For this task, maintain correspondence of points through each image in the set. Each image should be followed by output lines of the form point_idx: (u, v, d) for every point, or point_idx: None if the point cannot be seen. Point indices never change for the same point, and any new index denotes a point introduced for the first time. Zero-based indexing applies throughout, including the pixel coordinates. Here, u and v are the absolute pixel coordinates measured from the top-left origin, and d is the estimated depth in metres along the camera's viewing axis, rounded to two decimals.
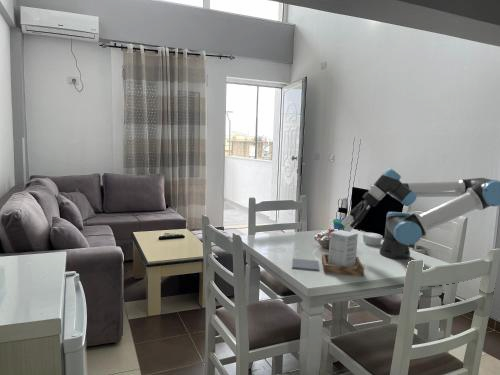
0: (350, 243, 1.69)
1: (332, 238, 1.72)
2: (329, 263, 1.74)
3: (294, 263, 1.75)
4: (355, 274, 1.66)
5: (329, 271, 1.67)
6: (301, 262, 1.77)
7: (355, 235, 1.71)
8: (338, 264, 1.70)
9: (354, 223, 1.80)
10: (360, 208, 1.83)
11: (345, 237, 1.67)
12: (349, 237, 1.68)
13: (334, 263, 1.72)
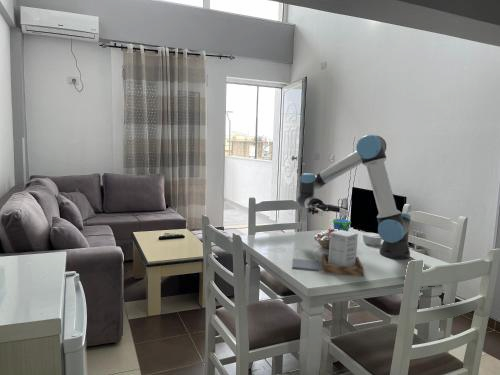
0: (350, 243, 1.69)
1: (332, 238, 1.72)
2: (329, 263, 1.74)
3: (294, 263, 1.75)
4: (355, 274, 1.66)
5: (329, 271, 1.67)
6: (301, 262, 1.77)
7: (355, 235, 1.71)
8: (338, 264, 1.70)
9: (313, 210, 1.83)
10: None
11: (345, 237, 1.67)
12: (349, 237, 1.68)
13: (334, 263, 1.72)
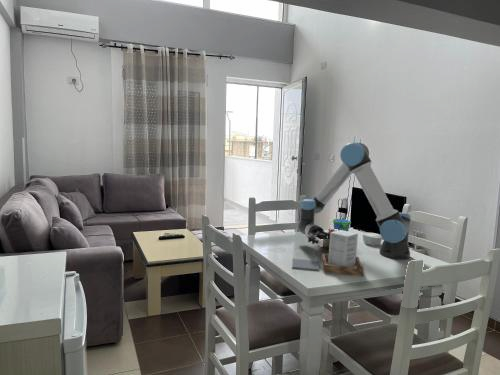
0: (350, 243, 1.69)
1: (332, 238, 1.72)
2: (329, 263, 1.74)
3: (294, 263, 1.75)
4: (355, 274, 1.66)
5: (329, 271, 1.67)
6: (301, 262, 1.77)
7: (355, 235, 1.71)
8: (338, 264, 1.70)
9: (314, 240, 1.82)
10: None
11: (345, 237, 1.67)
12: (349, 237, 1.68)
13: (334, 263, 1.72)
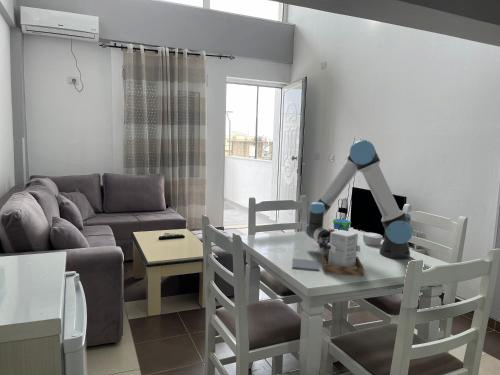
0: (350, 243, 1.69)
1: (332, 238, 1.72)
2: (329, 263, 1.74)
3: (294, 263, 1.75)
4: (355, 274, 1.66)
5: (329, 271, 1.67)
6: (301, 262, 1.77)
7: (355, 235, 1.71)
8: (338, 264, 1.70)
9: (325, 246, 1.73)
10: None
11: (345, 237, 1.67)
12: (349, 237, 1.68)
13: (334, 263, 1.72)
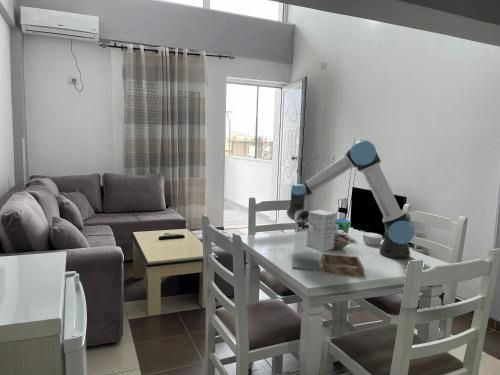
0: (328, 222, 1.69)
1: (310, 218, 1.72)
2: (307, 242, 1.74)
3: (294, 263, 1.75)
4: (355, 274, 1.66)
5: (329, 271, 1.67)
6: (301, 262, 1.77)
7: (333, 214, 1.71)
8: (316, 243, 1.70)
9: (304, 225, 1.73)
10: None
11: (323, 216, 1.67)
12: (327, 216, 1.68)
13: (312, 242, 1.72)
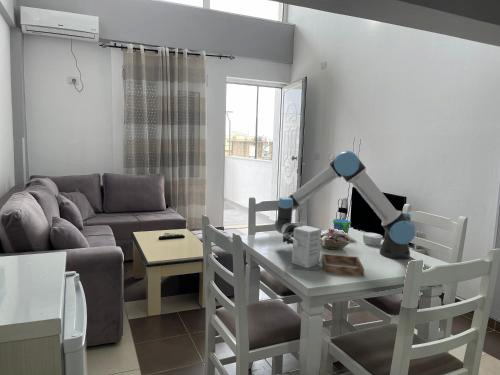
0: (313, 238, 1.70)
1: (295, 234, 1.73)
2: (293, 259, 1.75)
3: None
4: (355, 274, 1.66)
5: (329, 271, 1.67)
6: None
7: (318, 231, 1.72)
8: (301, 259, 1.71)
9: (288, 240, 1.74)
10: None
11: (307, 232, 1.68)
12: (312, 233, 1.68)
13: (298, 258, 1.73)
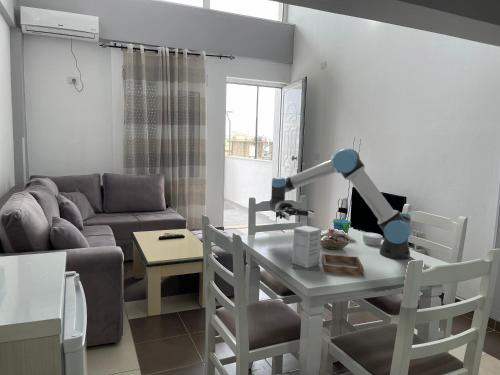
0: (313, 238, 1.70)
1: (295, 234, 1.73)
2: (293, 259, 1.75)
3: None
4: (355, 274, 1.66)
5: (329, 271, 1.67)
6: None
7: (318, 231, 1.72)
8: (301, 259, 1.71)
9: (281, 215, 1.82)
10: None
11: (307, 233, 1.68)
12: (312, 233, 1.68)
13: (298, 258, 1.73)
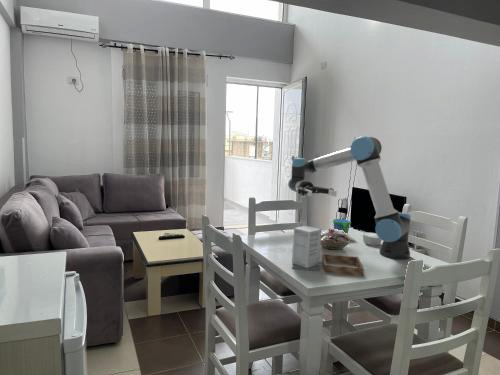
0: (313, 238, 1.70)
1: (295, 234, 1.73)
2: (293, 259, 1.75)
3: None
4: (355, 274, 1.66)
5: (329, 271, 1.67)
6: None
7: (318, 231, 1.72)
8: (301, 259, 1.71)
9: (303, 191, 1.89)
10: None
11: (307, 233, 1.68)
12: (312, 233, 1.68)
13: (298, 258, 1.73)
